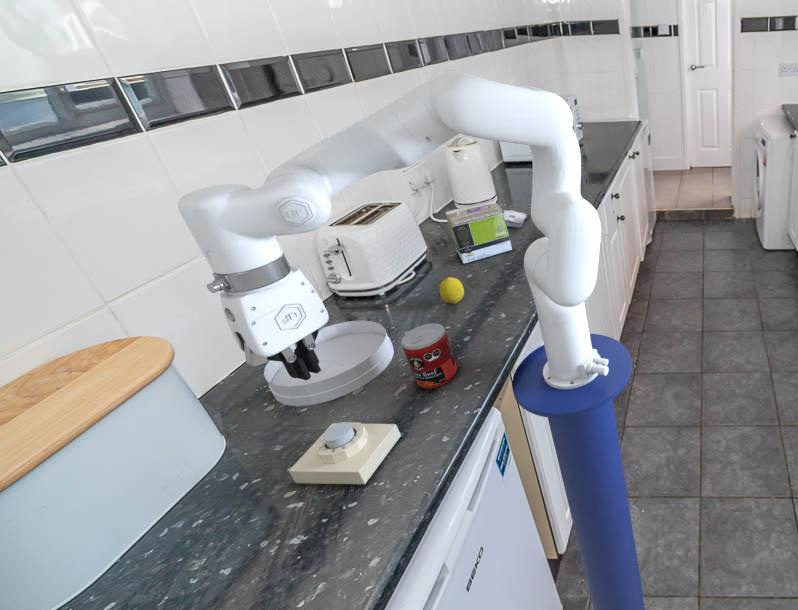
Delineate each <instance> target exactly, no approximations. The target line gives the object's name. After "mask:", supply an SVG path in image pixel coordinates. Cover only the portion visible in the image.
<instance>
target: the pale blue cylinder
mask: <svg viewBox="0 0 798 610" xmlns="http://www.w3.org/2000/svg"><path fill="white" fill-rule="evenodd" d="M337 423H338V424H335V425H333V426H332V427H330V426H329V427H330V428H329V427H328V428H329V429H328V428H327V429H326V430H325V431H324V432H325V433H324V432H323V433H324V434H323V433H322V434H323V439H324V441H325V443H326V445H327V447H328V448H329V449H336V448H339V447H342V446H344V445H346V444H347V443H349V442H350V441H352V439H353V438H354V437H355V432H354V430H353V428H352V426H351V424H350V423H349V422H348V421H342V422H337Z"/></svg>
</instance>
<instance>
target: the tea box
mask: <svg viewBox="0 0 798 610" xmlns="http://www.w3.org/2000/svg"><path fill="white" fill-rule="evenodd" d="M503 211H504V210H503V208H501V206H500V205H499V204H498V203H497V202H496V201H495V199H492V200H491V199H490V200H487V201H483V202H479V203H475V204H471V205H467V206H463V207H459V208H455V209H451V210H445V211H444V215H445V218H446V221H447V225H448V227H449V230H450V231H449V232H450V234H451V237H452V241H453V244H454V246H455V250H456V252H457V253H458V254H457V255H458V256H459V258H460V260H461V262H462V263H463V265H464V264H468V263H472V262H475V261H478V260H482V259H485V258H488V257H493V256H495V255H500V254H502V253H507V252H510V251H513V246H512V243H511V238H510V234H509V230H508V226H506V223H505V219H504V215H503Z"/></svg>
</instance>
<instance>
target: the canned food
mask: <svg viewBox="0 0 798 610" xmlns="http://www.w3.org/2000/svg"><path fill="white" fill-rule="evenodd" d="M400 341H401V345H402V349H403V352H404V354H405V357H406V359H407V362H408V364H409V367H410V369H411V373H412V374H413V377H414V380H415V381H416V384H417V385H418V386H419V387H420V388H422V389H435V388H436V389H437V388H440V387H442V386H444V385H446V384H447V383H449V382H450V381H451V380H452V379H453V378H454V377H455V376H456V374H457V372H458V365H457V362H456V359H455V356H454V353H453V350H452V346H451V343H450V340H449V337H448V335H447V331H446V328H445V327H444V326H443V325H442V324H440V323H437V322H435V323H434V322H433V323H432V322H431V323H426V324H421V325H418V326H416V327H414V328H412V329H411V330H410V331H408V332H407V333H405V335H403V336H402V339H401V340H400Z"/></svg>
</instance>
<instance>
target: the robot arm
mask: <svg viewBox="0 0 798 610" xmlns="http://www.w3.org/2000/svg"><path fill="white" fill-rule="evenodd" d="M573 126H574V116H573V112H572V109H571V107H570V105H569V104H568V103H567V102H566V101H565V99H563V98H562V97H561V96H559V95H557V94H556V93H554V92H551V91H548V90H544V89H542V88H539V87H535V86H532V85H527V84H520V85H511V84H506V83H502V82H498V81H494V80H490V79H486V78H483V77H479V76H476V75H473V74H470V73H468V72H464V71H461V70H456V69H455V70H454V69H453V70H452V69H451V70H445V71H442V72H440V73H438V74H436V75H434V76H432V77H431V78H429V79H427V80H425V81H424V82H422V83H420V84H419V85H417V86H416V87H414V88H413V89H410V90H409V91H407V92H405V93H404V94H403V95H401V96H399V97H397V98H396V99H394V100H393V101H391V102H389V103H388V104H386V105H384V106H383V107H381V108H379V109H377V110H376V111H374V112H373V113H371V114H369V115H367V116H366V117H364V118H361V119H360V120H359V121H356V122H353V123H351V124H350V125H349V126H347V127H345V128H344V129H342V130H340V131H337V132H335V133H333V134H331V135H329V136H327V137H325V138H324V139H322V140H320V141H318V142H316V143H315V144H313V145H311V146H310V147H308V148H306V149H304V150H303V151H301V152H300V153H297V154H296V155H295V156H293V157H291V158H289V159H287V160H286V161H284V162H283V163H282V164H280V165H278V166H277V167H276V168H274V169H273V170H272V171H271V172H270V173H269V174H268V175H267V177H266V178H265V181H264V182H263V185H260V187H256V188H251V187H249V186H248V185H245V184H242V183H224V184H223V183H222V184H216V185H210V186H206V187H202V188H198V189H196V190H192V191H190V192H188V193H185V194H184V195H183V196H182V197H180V199H178V200H179V201H178V203H177V207H178V208H177V209H178V211H179V213H180V215H181V217H182V219H183V220H184V223H185V224H186V226H187V227H188V229H189V231H190V234H191V236H192V237H193V239H194V240H195V242H196V244H197V245H198V247H199V250H200V251H201V253H202V254H203V256H204V258H205V260H206V261H207V263H208V265H209V267H210V268H211V270H212V272H213V273H212V277H213V278H214V280H211V282H210V283H208V284H206V288H207V290H208V291H209V292H210V293H212V294H215V293H218V292H220V293H219V297H220V303H221V307H222V311H223V314H224V316H225V320H226V322H227V326H228V327H229V330H230V332H231V334H232V336H233V338H234V341H235V342H236V344H237V345H238V347H239V349H240V350H241V351H242V352H244V356H245V364H246V365H247V366H251V367H258V366H261V365H264V364H268V362H269V361H280V362H282V363H283V364H284V366H285V368H286V370H287V372H288V374H289V375H290V376H291V377H292V378H299V379H303V380H308V379H310V378H311V375H310V373H309V372H312V373H319V372H320V371H321V369H320V367H319V365H318V363H319V360H318V358H317V356H316V354H315V352H314V350H313V349H314V348H315V347H316V344H315V340H316V338H317V335H318V333H319V330H321V329H322V328H325V327H326V325H327V324H328V323H329V322H330V320H329V319H330V316H329V313H328V309H327V308H326V306H325V304H324V303H323V301H322V299H321V297H320V295H319V294H318V292H317V291H316V289H315V287H314V286H313V284H312V283H311V282H310V280H308V278H307V277H306V275H305V274H304V273H303V272H302V271H301V269H300V268H299V267H297V266H290V264H289V261H288V259H287V257H286V255H285V253H284V250H283V249H282V247H281V245H280V242H279V240H278V238H277V237H279V236H280V237H281V236H293V235H298V234H299V235H301V234H306V233H310V232H314V231H315V230H318V229H320V228H321V227H323V226H324V225H325V224H326V223H327V222H328V220H329V219H330V217H331V213H332V201H331V199H332V198H334V197H335V196H337V195H338V194H339V193H340V192H342V191H344V190H345V189H347V188H349V187H350V186H352V185H353V184H355V183H357V182H358V181H360V180H363V179H365V178H366V177H368V176H370V175H372V174H376V173H380V172H385V171H393V170H394V171H395V170H401V169H404V168H407V167H410V166H413V165H415V164H416V163H417V162H419V161H420V160H421V159H423V158H424V157H426V156H428V155H429V154H430V153H432V152H433V151H435V150H437V149H438V148H439V147H441V146H443V145H445V144H446V143H447V142H449V141H450V140H452V139H454V138H455V137H457V136H459V135H464V136H467V137H472V138H476V139H483V140H489V141H496V142H502V143H509V144H517V145H518V144H519V145H525V146H528V147H529V149H530V153H531V160H532V181H531V183H532V184H531V201H530V203H531V204H530V217H531V221H532V223H533V224H534V226H535V228H537V230H538V231H539V232H540V233H542V235H544V237H543V236H542V237H540V238H538V239H536V240H534V241H533V242H532V243H530V245H529V246H528V247H527V249H526V251H525V253H524V257H523V268H524V273H525V277H526V280H527V282H528V286H529V288H530V291H531V294H532V298H533V301H534V305H535V310H536V314H537V319H538V324H539V328H540V333H541V337H542V341H543V345H544V346H545V351H546V355H547V360H548V361H547V363H546V364H545V366H544V368H543V377H544V380H545V382H546V383H547V384H548V385H549V386H551V387H553V388H557V389H574V388H578V387H581V386H583V385H586V384H587V383H589V382H591V381H592V380H593V379H595V378H596V376H597V375H598V374H599V375H604V376H606V375H607V374H608V371H609V368H608V367H607V365H608V359H603V358H600V356H599V354H598V353H597V349H592V345H591V339H590V334H591V333H590V327H589V322H588V316H587V311H586V304H585V301H587V300H588V299H589V298H590V296H591V295H592V293H593V291H594V289H595V287H596V283H597V279H598V273H599V272H598V271H599V263H600V262H599V261H600V250H601V240H602V239H601V238H602V224H601V219H600V217H599V213H598V212H597V209H596V208H595V207H594V206H593V204H592V203H590V201H588V200H586V199H585V198H584V197H582V194H581V192H582V191H581V183H582V182H581V180H582V177H581V176H582V154H581V148H580V144H579V139H578V137H577V135H576V133H575V131H574V128H573ZM293 344H295V346H296V349H294V351H295V352H293V351H292V349H291V348H290V347H289V346H291V345H293ZM602 365H606V366H602Z"/></svg>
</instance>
